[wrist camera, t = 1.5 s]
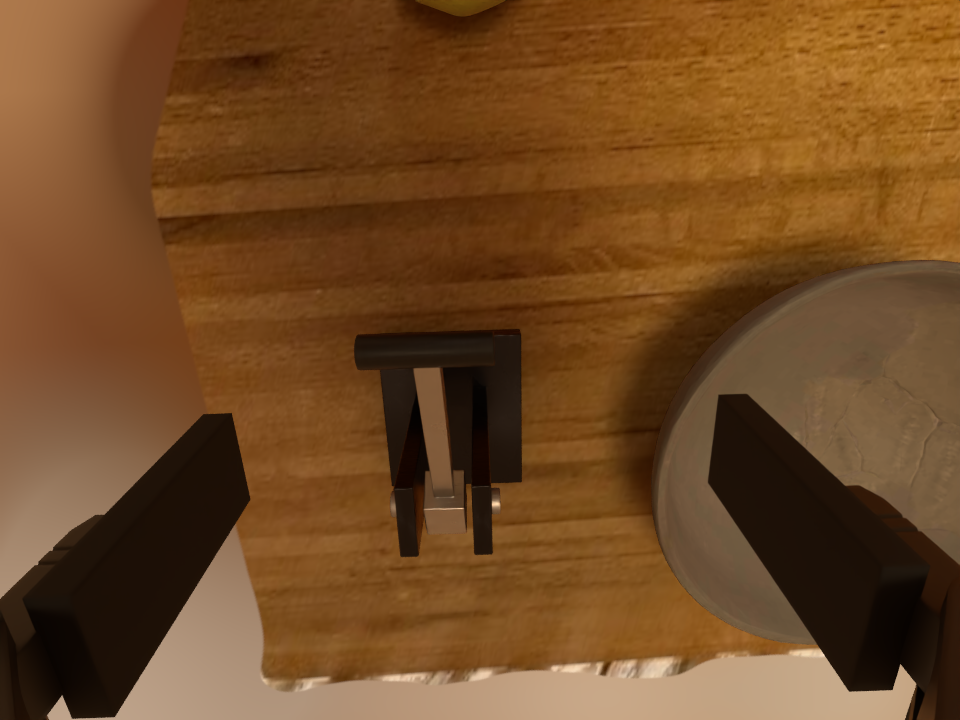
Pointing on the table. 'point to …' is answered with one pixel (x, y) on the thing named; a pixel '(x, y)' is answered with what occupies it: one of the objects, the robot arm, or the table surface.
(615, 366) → the table surface
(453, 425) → the bracket
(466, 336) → the lever
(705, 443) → the bowl
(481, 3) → the apple
